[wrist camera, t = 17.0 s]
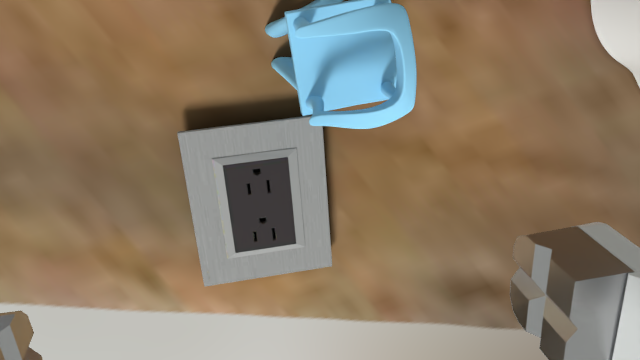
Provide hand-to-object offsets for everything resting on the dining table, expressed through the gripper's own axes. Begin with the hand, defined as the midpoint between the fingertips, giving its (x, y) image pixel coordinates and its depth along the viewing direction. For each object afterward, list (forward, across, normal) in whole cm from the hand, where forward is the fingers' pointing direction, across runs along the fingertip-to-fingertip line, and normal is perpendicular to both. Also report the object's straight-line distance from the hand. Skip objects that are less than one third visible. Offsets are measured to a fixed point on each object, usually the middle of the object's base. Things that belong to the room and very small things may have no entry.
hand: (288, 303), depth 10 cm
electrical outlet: (+35, -1, +14) cm, 37 cm away
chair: (+34, -7, +2) cm, 35 cm away
